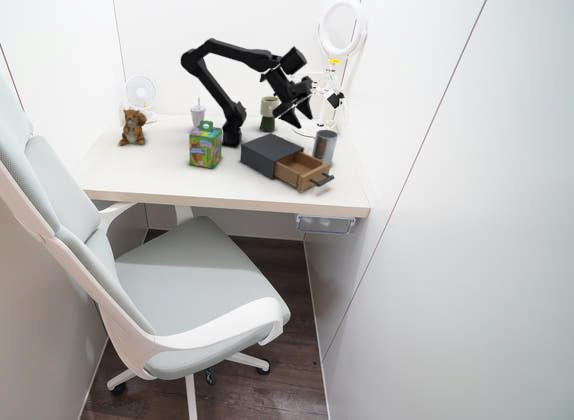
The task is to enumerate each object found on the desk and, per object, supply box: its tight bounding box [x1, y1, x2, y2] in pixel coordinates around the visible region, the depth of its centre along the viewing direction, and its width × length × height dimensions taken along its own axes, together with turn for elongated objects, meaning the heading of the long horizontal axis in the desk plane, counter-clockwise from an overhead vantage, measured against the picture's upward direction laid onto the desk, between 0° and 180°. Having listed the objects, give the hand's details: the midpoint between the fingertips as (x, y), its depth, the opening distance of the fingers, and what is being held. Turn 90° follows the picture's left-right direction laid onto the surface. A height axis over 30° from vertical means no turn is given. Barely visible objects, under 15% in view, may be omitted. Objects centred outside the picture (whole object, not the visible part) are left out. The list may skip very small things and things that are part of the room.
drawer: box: [274, 151, 335, 193], centre depth 102 cm, size 18×13×5 cm
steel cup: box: [311, 129, 339, 164], centre depth 109 cm, size 7×7×11 cm
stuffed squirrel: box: [118, 108, 148, 146], centre depth 129 cm, size 10×14×13 cm
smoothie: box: [189, 97, 207, 130], centre depth 134 cm, size 6×6×14 cm
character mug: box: [259, 95, 280, 132], centre depth 132 cm, size 11×7×13 cm, turn 171°
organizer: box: [239, 132, 305, 180], centre depth 111 cm, size 15×14×7 cm
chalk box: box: [188, 120, 223, 170], centre depth 112 cm, size 9×9×15 cm
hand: (306, 123), depth 109 cm, fingers open, 9 cm apart
